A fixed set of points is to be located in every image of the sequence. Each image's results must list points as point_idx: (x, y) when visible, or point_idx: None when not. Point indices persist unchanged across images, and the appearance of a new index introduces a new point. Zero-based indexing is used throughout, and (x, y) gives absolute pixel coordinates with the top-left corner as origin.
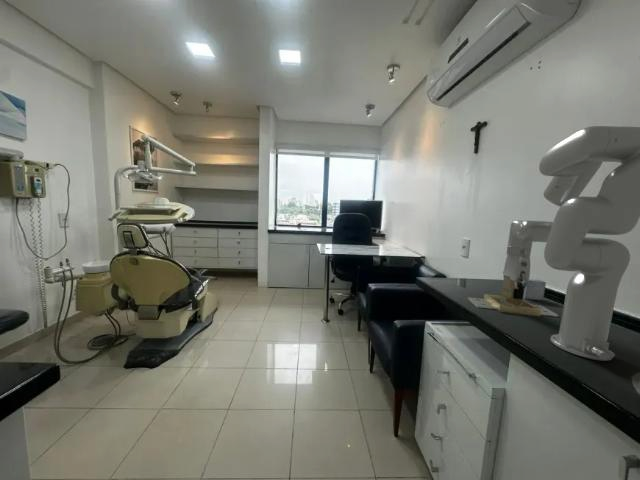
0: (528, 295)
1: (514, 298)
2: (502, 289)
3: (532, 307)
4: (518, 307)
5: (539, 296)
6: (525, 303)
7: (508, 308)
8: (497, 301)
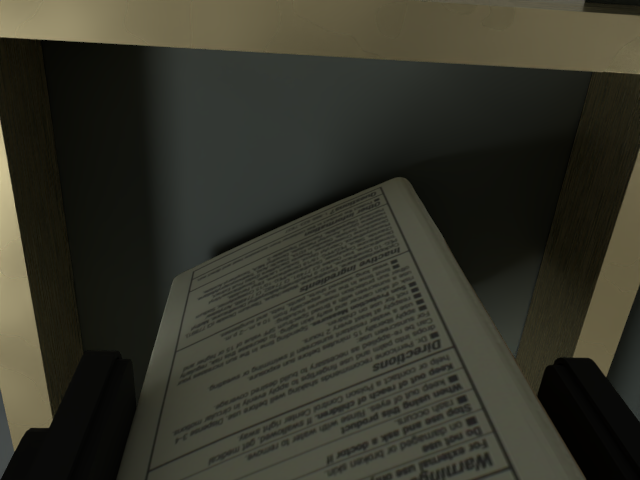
0: None
1: None
2: None
3: (529, 65)
4: (610, 359)
5: None
6: (279, 50)
7: None
8: (81, 339)
